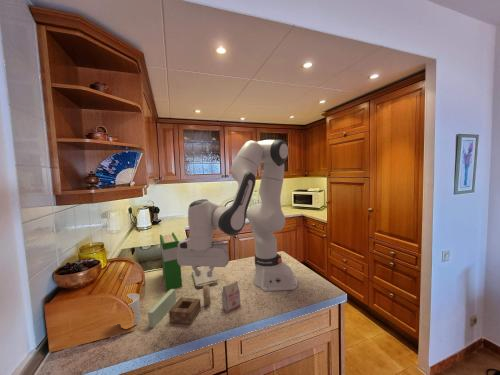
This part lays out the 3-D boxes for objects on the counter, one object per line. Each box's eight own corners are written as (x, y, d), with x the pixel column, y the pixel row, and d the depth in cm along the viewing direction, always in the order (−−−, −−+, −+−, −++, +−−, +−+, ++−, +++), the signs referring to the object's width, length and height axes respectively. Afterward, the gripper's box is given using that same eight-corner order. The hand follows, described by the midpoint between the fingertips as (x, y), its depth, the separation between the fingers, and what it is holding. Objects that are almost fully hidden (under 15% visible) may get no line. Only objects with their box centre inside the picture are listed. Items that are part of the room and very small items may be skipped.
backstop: (176, 301, 98) (175, 289, 97) (153, 327, 82) (152, 312, 81) (172, 301, 98) (170, 288, 97) (149, 327, 82) (147, 312, 82)
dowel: (211, 302, 96) (210, 285, 95) (209, 306, 93) (208, 288, 92) (205, 302, 96) (204, 285, 96) (203, 306, 94) (201, 288, 93)
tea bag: (222, 307, 92) (221, 285, 91) (235, 301, 96) (234, 279, 95) (226, 311, 89) (225, 288, 88) (240, 305, 93) (239, 283, 92)
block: (200, 308, 92) (200, 298, 91) (191, 324, 83) (190, 312, 82) (181, 307, 93) (180, 297, 93) (169, 322, 84) (168, 311, 84)
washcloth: (196, 291, 107) (195, 285, 106) (191, 275, 123) (190, 270, 123) (219, 285, 111) (219, 279, 111) (211, 270, 128) (211, 265, 127)
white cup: (127, 316, 89) (125, 293, 88) (145, 316, 89) (143, 293, 88) (113, 330, 82) (111, 305, 81) (133, 331, 81) (131, 305, 80)
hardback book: (163, 276, 123) (159, 234, 121) (176, 272, 126) (173, 232, 124) (166, 291, 107) (162, 243, 105) (182, 286, 110) (178, 240, 108)
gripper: (229, 239, 85) (231, 273, 86) (181, 238, 89) (184, 271, 90) (224, 245, 79) (227, 281, 80) (173, 244, 83) (176, 278, 84)
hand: (204, 276), depth 85 cm, fingers open, 3 cm apart
